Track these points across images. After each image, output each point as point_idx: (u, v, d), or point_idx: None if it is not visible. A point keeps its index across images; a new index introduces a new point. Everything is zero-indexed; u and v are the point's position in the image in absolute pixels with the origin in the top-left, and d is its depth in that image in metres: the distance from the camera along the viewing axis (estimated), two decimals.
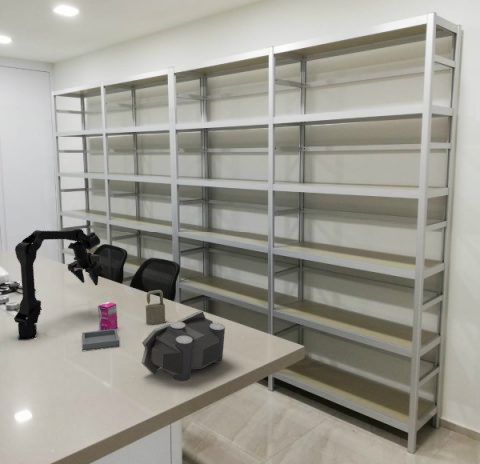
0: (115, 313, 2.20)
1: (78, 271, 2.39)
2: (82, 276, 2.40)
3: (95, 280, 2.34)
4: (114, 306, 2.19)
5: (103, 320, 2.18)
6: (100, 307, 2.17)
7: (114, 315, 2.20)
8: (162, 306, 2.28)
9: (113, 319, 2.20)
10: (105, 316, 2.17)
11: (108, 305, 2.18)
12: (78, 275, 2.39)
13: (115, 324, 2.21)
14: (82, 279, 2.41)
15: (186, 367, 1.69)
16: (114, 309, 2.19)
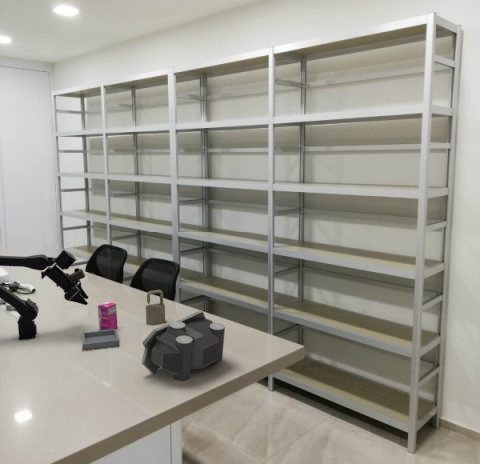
0: (115, 313, 2.20)
1: None
2: (83, 293, 2.21)
3: (80, 301, 2.11)
4: (114, 306, 2.19)
5: (103, 320, 2.18)
6: (100, 307, 2.17)
7: (114, 315, 2.20)
8: (162, 306, 2.28)
9: (113, 319, 2.20)
10: (105, 316, 2.17)
11: (108, 305, 2.18)
12: None
13: (115, 324, 2.21)
14: (84, 295, 2.21)
15: (186, 367, 1.69)
16: (114, 309, 2.19)
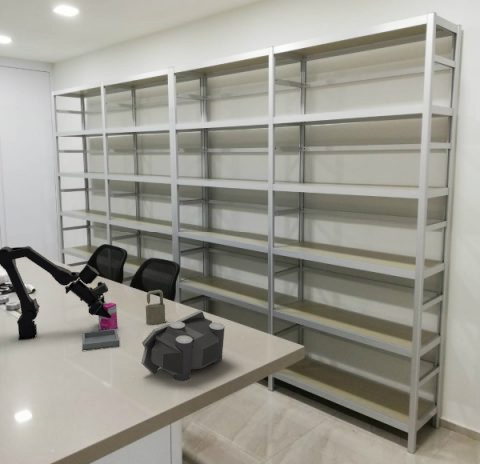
0: (115, 313, 2.20)
1: None
2: None
3: (104, 315, 2.15)
4: (114, 306, 2.19)
5: (103, 320, 2.18)
6: None
7: (114, 315, 2.20)
8: (162, 306, 2.28)
9: (114, 318, 2.20)
10: None
11: (108, 305, 2.18)
12: None
13: (115, 324, 2.21)
14: None
15: (186, 367, 1.69)
16: (114, 309, 2.19)
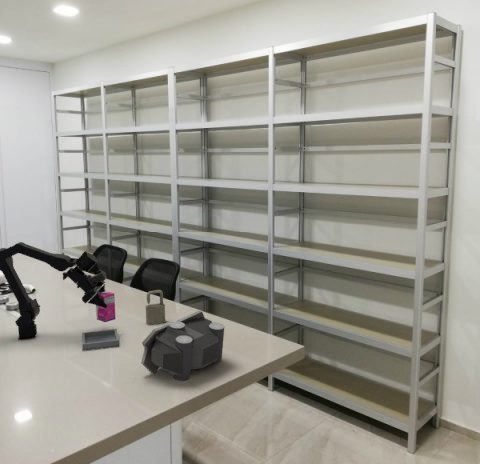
0: (113, 303, 2.13)
1: (99, 292, 2.17)
2: None
3: (99, 304, 2.07)
4: (112, 296, 2.12)
5: (100, 310, 2.11)
6: None
7: (112, 305, 2.12)
8: (162, 306, 2.28)
9: (111, 309, 2.12)
10: None
11: (105, 294, 2.11)
12: None
13: (113, 314, 2.13)
14: None
15: (186, 367, 1.69)
16: (112, 299, 2.12)
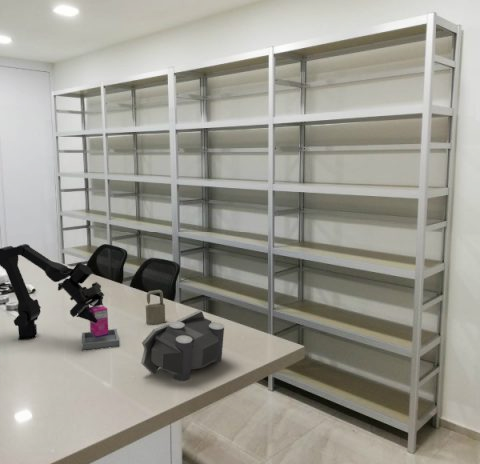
0: (106, 318, 2.03)
1: (95, 305, 2.09)
2: None
3: (89, 318, 1.99)
4: (104, 310, 2.02)
5: (92, 324, 2.03)
6: (90, 309, 2.03)
7: (104, 320, 2.03)
8: (162, 306, 2.28)
9: (103, 324, 2.03)
10: None
11: (97, 309, 2.02)
12: None
13: (105, 330, 2.04)
14: None
15: (186, 367, 1.69)
16: (104, 314, 2.02)
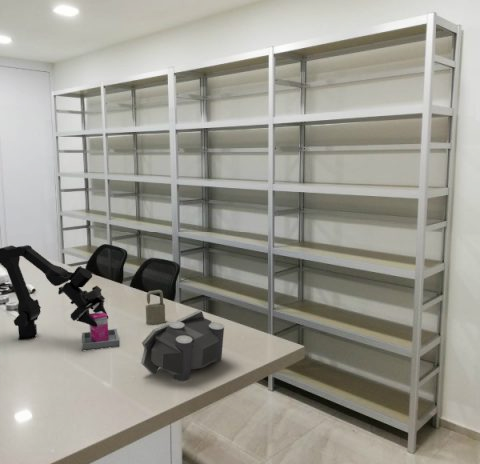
0: (106, 325, 2.03)
1: (97, 308, 2.09)
2: (103, 312, 2.09)
3: (89, 322, 1.99)
4: (104, 317, 2.02)
5: (92, 331, 2.03)
6: None
7: (104, 327, 2.03)
8: (162, 306, 2.28)
9: (103, 331, 2.03)
10: (93, 327, 2.02)
11: (97, 315, 2.02)
12: None
13: (105, 337, 2.04)
14: None
15: (186, 367, 1.69)
16: (104, 320, 2.03)
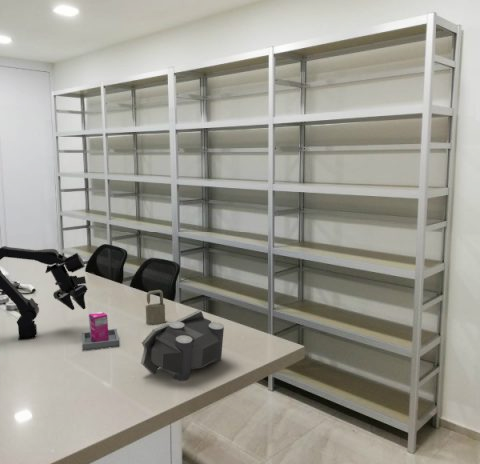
0: (106, 325, 2.03)
1: (65, 298, 2.18)
2: (70, 303, 2.19)
3: (81, 303, 2.11)
4: (104, 317, 2.02)
5: (92, 331, 2.03)
6: (90, 316, 2.03)
7: (104, 327, 2.03)
8: (162, 306, 2.28)
9: (103, 331, 2.03)
10: (93, 327, 2.02)
11: (97, 315, 2.02)
12: (65, 302, 2.17)
13: (105, 337, 2.04)
14: (71, 305, 2.19)
15: (186, 367, 1.69)
16: (104, 320, 2.03)
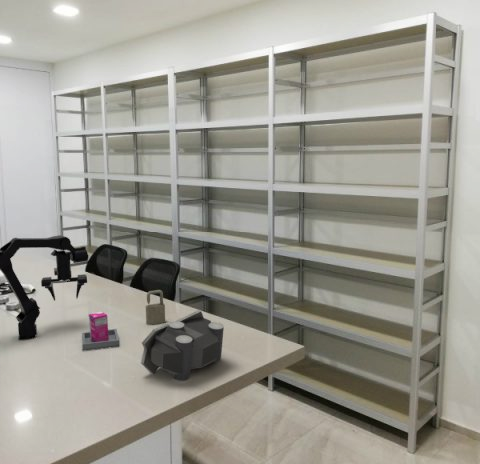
0: (106, 325, 2.03)
1: (52, 287, 2.19)
2: None
3: None
4: (104, 317, 2.02)
5: (92, 331, 2.03)
6: (90, 316, 2.03)
7: (104, 327, 2.03)
8: (162, 306, 2.28)
9: (103, 331, 2.03)
10: (93, 327, 2.02)
11: (97, 315, 2.02)
12: (53, 291, 2.18)
13: (105, 337, 2.04)
14: (54, 296, 2.20)
15: (186, 367, 1.69)
16: (104, 320, 2.03)
